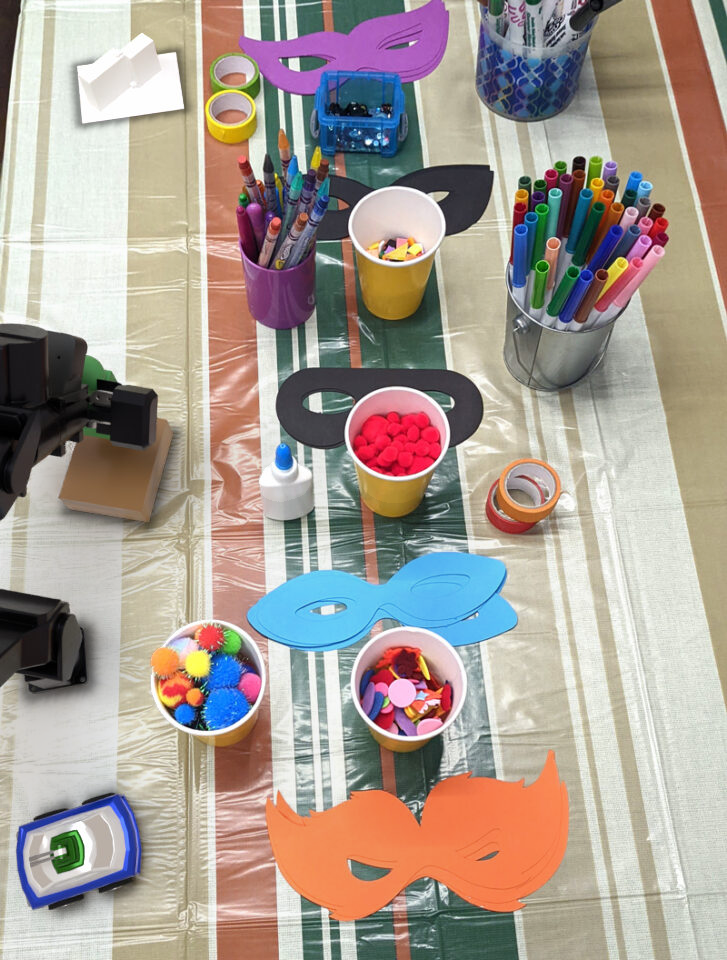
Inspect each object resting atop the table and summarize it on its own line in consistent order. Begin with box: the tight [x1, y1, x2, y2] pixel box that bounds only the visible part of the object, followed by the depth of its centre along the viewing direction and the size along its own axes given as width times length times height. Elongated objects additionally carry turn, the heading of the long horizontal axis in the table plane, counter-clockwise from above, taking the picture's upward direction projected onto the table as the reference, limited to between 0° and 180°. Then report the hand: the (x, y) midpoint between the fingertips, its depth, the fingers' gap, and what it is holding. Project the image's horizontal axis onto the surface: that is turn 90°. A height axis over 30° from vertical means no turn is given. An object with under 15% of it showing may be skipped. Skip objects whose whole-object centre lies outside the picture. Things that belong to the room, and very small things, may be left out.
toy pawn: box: [82, 354, 118, 439], centre depth 98 cm, size 5×5×13 cm
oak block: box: [58, 417, 174, 523], centre depth 107 cm, size 12×10×4 cm
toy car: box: [15, 792, 143, 911], centre depth 89 cm, size 9×12×10 cm
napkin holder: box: [76, 32, 185, 125], centre depth 128 cm, size 15×11×6 cm
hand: (98, 383), depth 98 cm, fingers closed on toy pawn, 4 cm apart
